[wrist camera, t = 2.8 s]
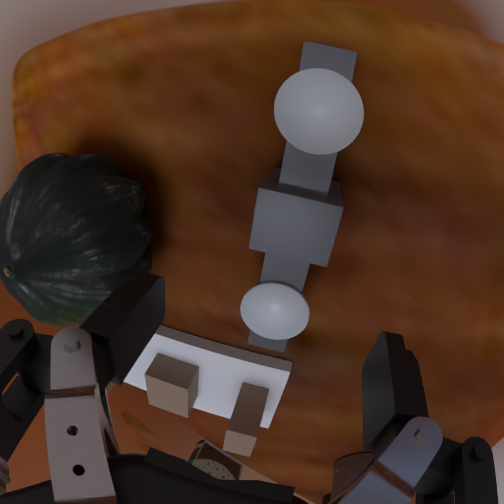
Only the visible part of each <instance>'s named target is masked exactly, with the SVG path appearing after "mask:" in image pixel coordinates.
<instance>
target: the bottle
mask: <svg viewBox="0 0 504 504" xmlns="http://www.w3.org/2000/svg"><path fill="white" fill-rule="evenodd" d="M330 499H331V494H330V495H327V496H325V497H324V498H323V502H322V504H327V503H328V502H330Z"/></svg>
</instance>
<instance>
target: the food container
mask: <svg viewBox="0 0 504 504" xmlns="http://www.w3.org/2000/svg"><path fill="white" fill-rule="evenodd" d="M188 462H189V463H190V464H192V465H194V466H195V467H197V468H199V469H201V470H202V471H204V472H206V473H208V474H209V475H211V476H213V477H215V478H217V479H223V480H240V475H241V470H242V464H241V463H239V462H237V461H236V460H235V459H233V458H232V457H230V456H228V455H227V454H225V453H224V452H222V451H221V450H220V449H218V448H217V447H215V446H214V445H212V444H211V443H209V442H208V441H206V440H201V441H200V442H198V443H197V445H196V447H195V449H194V451H193V453H192V454H191V456H190V458H189V460H188Z"/></svg>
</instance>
